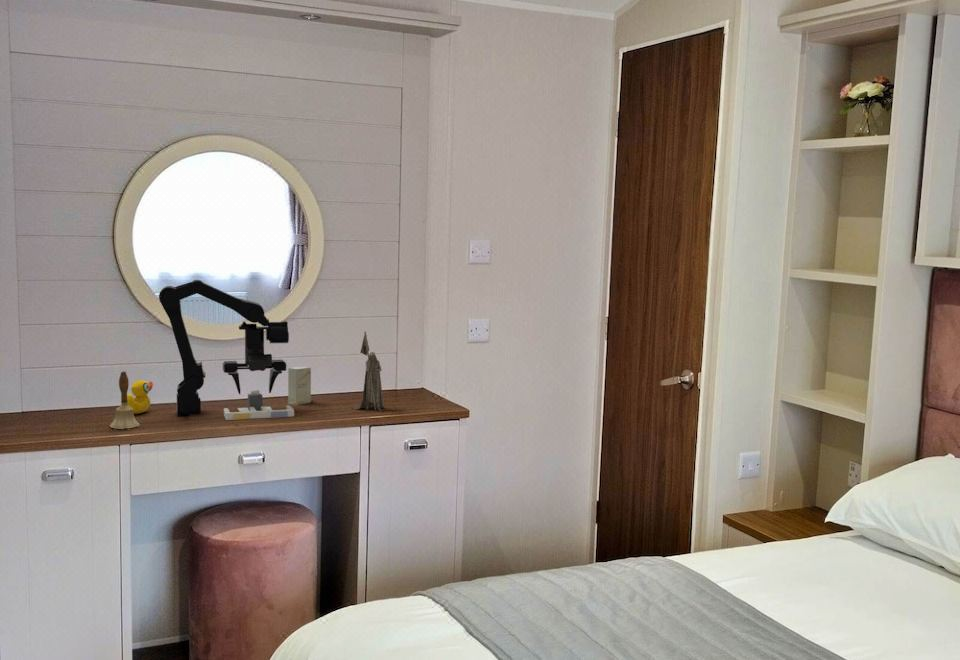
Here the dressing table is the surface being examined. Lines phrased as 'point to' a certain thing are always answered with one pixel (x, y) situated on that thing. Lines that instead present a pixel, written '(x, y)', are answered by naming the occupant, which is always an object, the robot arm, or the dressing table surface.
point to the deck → (248, 410)
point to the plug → (255, 400)
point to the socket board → (259, 413)
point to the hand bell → (124, 407)
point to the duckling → (139, 396)
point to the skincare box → (299, 385)
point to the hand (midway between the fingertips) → (254, 393)
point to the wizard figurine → (371, 380)
